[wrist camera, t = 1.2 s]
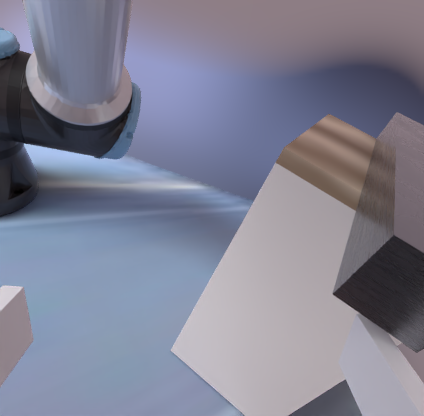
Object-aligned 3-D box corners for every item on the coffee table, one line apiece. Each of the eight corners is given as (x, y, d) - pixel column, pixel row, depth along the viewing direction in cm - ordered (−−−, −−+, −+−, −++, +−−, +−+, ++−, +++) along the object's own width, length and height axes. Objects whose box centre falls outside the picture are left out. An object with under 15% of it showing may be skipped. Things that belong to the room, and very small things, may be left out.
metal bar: (416, 353, 9) (504, 301, 7) (332, 294, 10) (393, 234, 8) (403, 153, 29) (426, 126, 28) (376, 138, 30) (396, 112, 28)
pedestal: (263, 431, 33) (505, 277, 16) (170, 350, 37) (284, 147, 19) (299, 331, 46) (458, 182, 28) (228, 277, 49) (329, 113, 31)
